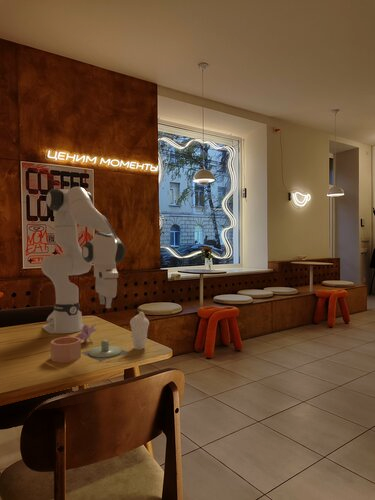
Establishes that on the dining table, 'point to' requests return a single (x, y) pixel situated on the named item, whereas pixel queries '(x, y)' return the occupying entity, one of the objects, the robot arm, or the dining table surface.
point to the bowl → (65, 349)
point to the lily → (86, 332)
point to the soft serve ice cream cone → (139, 330)
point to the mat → (103, 358)
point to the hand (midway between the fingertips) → (105, 306)
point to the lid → (104, 350)
